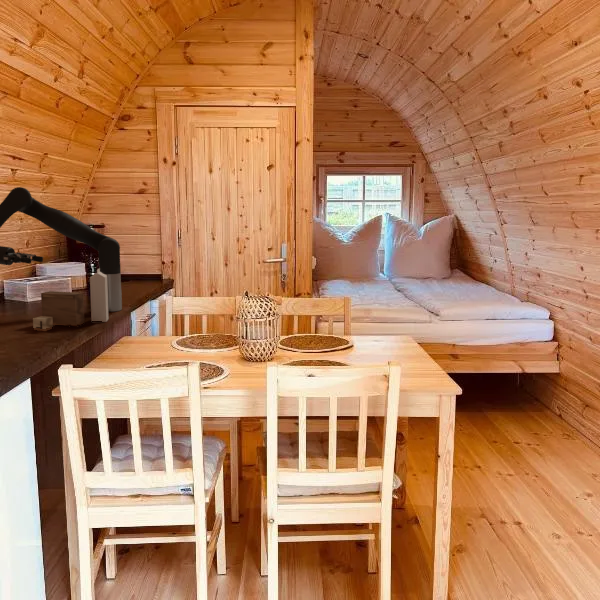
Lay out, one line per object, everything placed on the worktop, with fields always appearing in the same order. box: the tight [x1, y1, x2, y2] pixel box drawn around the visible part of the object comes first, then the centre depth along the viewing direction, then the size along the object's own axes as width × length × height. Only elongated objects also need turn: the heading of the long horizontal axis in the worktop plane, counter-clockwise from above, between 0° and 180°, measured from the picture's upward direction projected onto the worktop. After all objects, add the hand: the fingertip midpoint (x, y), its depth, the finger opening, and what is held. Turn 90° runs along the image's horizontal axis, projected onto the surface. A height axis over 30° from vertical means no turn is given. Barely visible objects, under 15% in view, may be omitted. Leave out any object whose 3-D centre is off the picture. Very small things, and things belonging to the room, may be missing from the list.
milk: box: [89, 267, 109, 323], centre depth 248 cm, size 6×6×22 cm
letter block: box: [32, 315, 54, 329], centre depth 229 cm, size 5×5×5 cm
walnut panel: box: [40, 290, 85, 325], centre depth 240 cm, size 6×15×13 cm, turn 79°
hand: (36, 260), depth 244 cm, fingers open, 8 cm apart
